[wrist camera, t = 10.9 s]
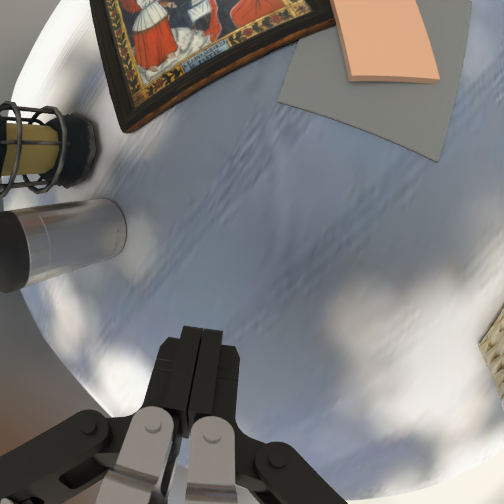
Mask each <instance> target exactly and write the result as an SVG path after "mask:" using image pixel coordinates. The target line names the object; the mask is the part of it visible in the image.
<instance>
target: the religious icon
mask: <svg viewBox="0 0 504 504" xmlns="http://www.w3.org/2000/svg"><path fill="white" fill-rule="evenodd" d="M89 1H90V7H91V13H92V18H93V23H94V28H95V32H96V37H97V42H98V46H99V50H100V54H101V59H102V63H103V67H104V71H105V75H106V79H107V83H108V87H109V92H110V96H111V99H112V102H113V105H114V109H115V112H116V116H117V119H118V122H119V125H120V128H121V130H122V132H123V133H131V132H133V131H135V130H136V129H138V128H139V127H141V126H142V125H144V124H145V123H147V122H148V121H150V120H151V119H153V118H154V117H156V116H157V115H159V114H160V113H162V112H163V111H165V110H166V109H168V108H169V107H171V106H173V105H174V104H176V103H177V102H179V101H181V100H182V99H184V98H186V97H187V96H189V95H190V94H192V93H193V92H195V91H197V90H198V89H200V88H202V87H203V86H205V85H207V84H209V83H210V82H212V81H214V80H216V79H217V78H219V77H221V76H223V75H225V74H226V73H228V72H230V71H232V70H234V69H236V68H238V67H240V66H242V65H244V64H246V63H248V62H250V61H252V60H254V59H256V58H258V57H260V56H263V55H264V54H266V53H268V52H270V51H272V50H274V49H277V48H279V47H281V46H284V45H286V44H288V43H291V42H293V41H295V40H298V39H300V38H303V37H305V36H307V35H310V34H313V33H315V32H318V31H320V30H323V29H326V28H329V27H332V26H334V25H336V21H335V18H334V14H333V10H332V6H331V3H330V0H89Z"/></svg>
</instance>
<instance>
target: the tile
mask: <svg viewBox="0 0 504 504" xmlns="http://www.w3.org/2000/svg"><path fill="white" fill-rule="evenodd" d="M330 3H331V6H332V10H333V14H334V18H335V21H336V25H337V29H338V33H339V38H340V42H341V46H342V51H343V55H344V60H345V65H346V69H347V74H348V79H349V81H386V82H410V83H425V84H435V83H436V82H437V81H439V80H440V77H439V73H438V69H437V65H436V62H435V58H434V54H433V51H432V48H431V44H430V41H429V38H428V35H427V32H426V29H425V26H424V23H423V20H422V17H421V14H420V12H419V9H418V6H417V4H416V1H415V0H330Z"/></svg>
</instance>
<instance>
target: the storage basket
mask: <svg viewBox="0 0 504 504" xmlns="http://www.w3.org/2000/svg"><path fill="white" fill-rule="evenodd" d="M479 349H480V351H481V353H482V355H483V357H484V360H485V361H486V364H487V366H488V368H489V369H490V372H491V375H492V377H493V379H494V381H495V384H496V388H497V389H498V394H499V397H500V399H501V400H502V408H503V410H504V308H503V310H502V311H501V314H500V315H499V317H498V318H497V320H496V321H495V323H494V324H493V326H491V328H490V329H489V332H488V333H487V334H486V336H485V337H484V338H483V340H482V341H481V343H479Z"/></svg>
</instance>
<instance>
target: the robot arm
mask: <svg viewBox="0 0 504 504" xmlns="http://www.w3.org/2000/svg"><path fill="white" fill-rule="evenodd" d="M125 240H126V224H125V219H124V217H123V214H122V212H121V210H120V208H119V207H118V206H117V205H116V204H115V203H114V202H113V201H111V200H109V199H94V200H84V201H75V202H67V203H59V204H51V205H43V206H36V207H29V208H23V209H17V210H10V211H4V212H0V292H3V293H9V292H13V291H16V290H18V289H21V288H25V287H27V286H30V285H33V284H36V283H39V282H41V281H44V280H47V279H50V278H53V277H56V276H59V275H62V274H64V273H67V272H70V271H73V270H76V269H79V268H82V267H85V266H88V265H91V264H94V263H98V262H100V261H103V260H106V259H109V258H113V257H115V256H116V255H118V254H119V253H120V252H121V250H122V248H123V246H124V244H125ZM222 337H223V331H219V330H212V329H205V328H204V331H203V328H197V327H190V326H184V327H183V329H182V333H181V337H180V339H178V338H171V337H168V338H167V339H166V340H165V342H164V343H163V344H162V345H161V346H160V348H159V352H158V355H157V360H156V362H155V365H154V369H153V372H152V375H151V378H150V382H149V385H148V389H147V392H146V396H145V399H144V402H143V405H142V406H141V408H140V409H139V410H138V411H137V412H135V413H134V414H132V415H130V416H126V417H115V418H105V417H104V416H103V415H102V414H101V413H99V412H97V411H94V410H83V411H80V412H78V413H76V414H75V415H73V416H71V417H70V418H68V419H66V420H65V421H63V422H61V423H59V424H58V425H56V426H54V427H53V428H51V429H49V430H47V431H46V432H44V433H42V434H41V435H39V436H37V437H35V438H33V439H32V440H30V441H28V442H26V443H25V444H23V445H21V446H19V447H17V448H16V449H14V450H12V451H10V452H8V453H6V454H4V455H3V456H1V457H0V504H62V503H64V502H65V501H67V500H69V499H70V498H72V497H74V496H76V495H77V494H79V493H81V492H82V491H84V490H86V489H87V488H89V487H90V486H92V485H94V484H95V483H97V482H98V481H100V480H102V479H103V478H104V480H103V483H102V486H101V488H100V491H99V495H98V498H97V500H96V504H168V496H169V492H170V488H171V484H172V480H173V476H174V472H175V468H176V465H177V461H178V457H179V452H180V446H181V440H182V438H189V432H190V448H189V463H188V481H187V489H186V498H185V504H238V503H237V493H236V488H235V484H237V485H239V486H242V487H244V488H247V489H248V490H249V491H250V493H251V494H252V495H253V496H254V497H255V498H256V499H257V501H258V502H259V503H260V504H348V503H347V502H346V501H345V500H344V499H343V498H342V497H341V496H340V495H338V494H337V493H336V492H335V491H334V490H333V489H332V488H331V487H330V486H329V485H328V484H327V483H326V482H325V481H324V480H323V479H322V478H321V477H320V476H319V475H318V473H317V472H316V471H315V470H314V469H313V468H312V467H311V466H310V465H309V464H308V463H307V462H306V461H305V460H304V459H303V458H302V457H301V456H300V455H299V453H298V452H297V451H296V450H295V449H294V448H293V447H291V446H290V445H288V444H286V443H283V442H270V443H267V444H266V443H263V442H260V441H258V440H255V439H252V438H250V437H248V436H247V435H245V434H244V433H243V432H242V431H241V430H240V429H239V428H238V426H237V423H236V420H235V412H236V400H237V388H238V375H239V363H240V357H239V354H238V352H237V350H236V347H235V346H227V345H222Z"/></svg>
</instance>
